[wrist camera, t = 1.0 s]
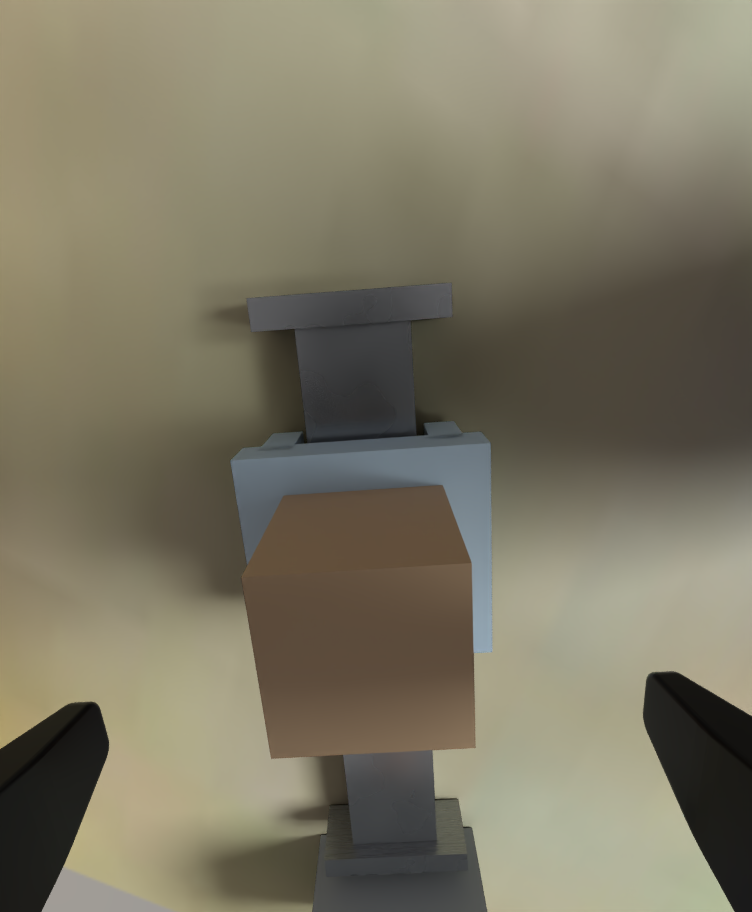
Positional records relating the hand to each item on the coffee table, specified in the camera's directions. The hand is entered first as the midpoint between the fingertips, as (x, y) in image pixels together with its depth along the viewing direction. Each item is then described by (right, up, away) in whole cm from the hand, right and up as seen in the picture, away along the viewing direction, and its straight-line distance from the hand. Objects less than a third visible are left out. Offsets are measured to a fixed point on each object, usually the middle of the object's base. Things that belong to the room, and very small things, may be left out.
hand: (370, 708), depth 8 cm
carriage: (0, +2, +8) cm, 8 cm away
